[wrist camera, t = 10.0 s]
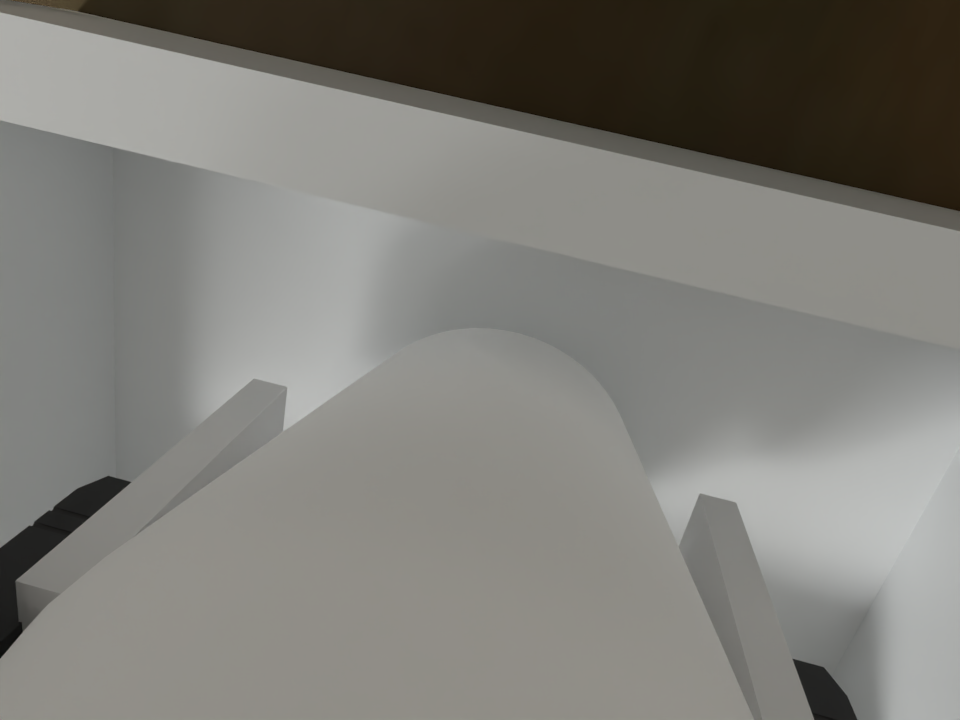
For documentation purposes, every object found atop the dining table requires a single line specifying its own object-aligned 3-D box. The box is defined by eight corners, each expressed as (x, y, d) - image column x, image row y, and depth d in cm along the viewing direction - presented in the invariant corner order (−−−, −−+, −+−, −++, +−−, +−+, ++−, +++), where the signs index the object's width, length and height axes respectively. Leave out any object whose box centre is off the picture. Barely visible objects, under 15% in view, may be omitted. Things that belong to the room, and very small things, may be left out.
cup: (231, 433, 17) (-468, 1092, 6) (496, 180, 14) (87, 560, 2) (478, 666, 18) (308, 1540, 7) (769, 488, 15) (1261, 1563, 4)
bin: (90, 523, 22) (-80, 669, 16) (75, 10, 16) (-197, -33, 10) (837, 730, 20) (928, 969, 15) (1121, 247, 14) (1449, 342, 9)
